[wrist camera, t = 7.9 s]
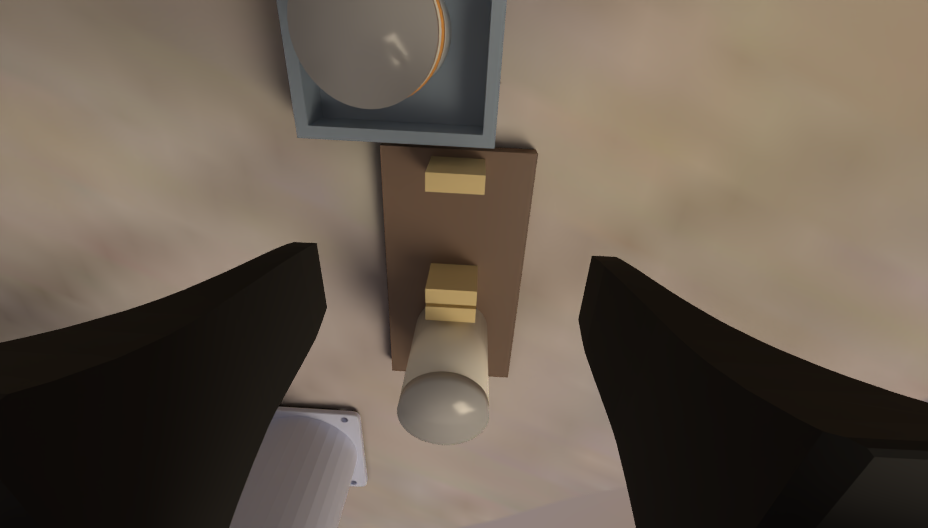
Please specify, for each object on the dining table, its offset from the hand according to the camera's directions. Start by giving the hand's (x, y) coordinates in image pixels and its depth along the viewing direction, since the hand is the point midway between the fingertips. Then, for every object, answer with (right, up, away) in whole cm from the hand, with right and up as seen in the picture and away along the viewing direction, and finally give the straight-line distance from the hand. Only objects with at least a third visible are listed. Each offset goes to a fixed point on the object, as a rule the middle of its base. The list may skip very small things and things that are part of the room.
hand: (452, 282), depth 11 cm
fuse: (0, -3, +12) cm, 13 cm away
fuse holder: (0, 0, +11) cm, 11 cm away
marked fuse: (-2, +10, +5) cm, 11 cm away
